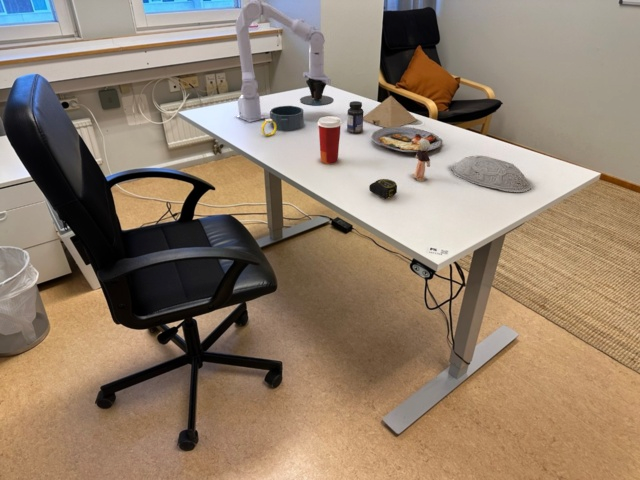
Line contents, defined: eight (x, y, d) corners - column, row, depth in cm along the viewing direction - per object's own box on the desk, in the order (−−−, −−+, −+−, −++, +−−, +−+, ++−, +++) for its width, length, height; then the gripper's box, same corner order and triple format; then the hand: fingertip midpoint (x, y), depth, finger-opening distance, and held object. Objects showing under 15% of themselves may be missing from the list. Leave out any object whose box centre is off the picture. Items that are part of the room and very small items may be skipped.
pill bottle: (362, 129, 175) (364, 100, 169) (362, 134, 170) (364, 105, 164) (347, 128, 176) (348, 100, 170) (346, 133, 171) (347, 105, 165)
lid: (298, 107, 179) (298, 95, 176) (301, 97, 191) (300, 86, 188) (333, 107, 178) (333, 96, 176) (333, 97, 190) (334, 86, 188)
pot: (267, 133, 171) (266, 117, 168) (274, 118, 187) (273, 103, 184) (301, 133, 171) (301, 118, 168) (305, 118, 186) (304, 104, 183)
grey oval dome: (517, 196, 126) (523, 173, 123) (440, 174, 142) (444, 153, 139) (539, 185, 136) (545, 163, 133) (465, 165, 152) (469, 145, 149)
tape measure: (367, 193, 129) (368, 181, 127) (385, 187, 132) (386, 176, 130) (383, 202, 125) (384, 190, 123) (401, 196, 128) (402, 184, 126)
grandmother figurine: (406, 175, 140) (411, 136, 133) (416, 172, 141) (421, 134, 134) (422, 184, 134) (428, 144, 127) (432, 182, 136) (438, 142, 129)
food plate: (453, 144, 162) (454, 134, 160) (418, 163, 148) (419, 153, 146) (396, 128, 176) (397, 119, 174) (359, 144, 162) (359, 134, 160)
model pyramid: (359, 119, 185) (360, 95, 179) (386, 111, 194) (388, 87, 189) (390, 130, 174) (392, 104, 169) (417, 120, 184) (420, 95, 179)
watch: (264, 137, 167) (263, 122, 164) (260, 135, 169) (259, 120, 166) (278, 134, 170) (277, 119, 167) (274, 132, 172) (273, 117, 169)
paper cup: (343, 157, 151) (344, 117, 144) (336, 166, 145) (337, 124, 138) (321, 155, 153) (321, 114, 146) (314, 163, 147) (313, 121, 140)
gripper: (336, 65, 174) (335, 100, 181) (311, 59, 183) (312, 93, 190) (323, 67, 170) (323, 103, 177) (298, 61, 179) (299, 96, 186)
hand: (316, 98), depth 184 cm, fingers closed on lid, 2 cm apart
